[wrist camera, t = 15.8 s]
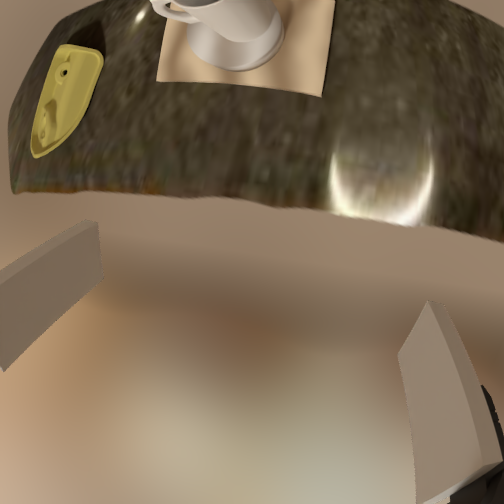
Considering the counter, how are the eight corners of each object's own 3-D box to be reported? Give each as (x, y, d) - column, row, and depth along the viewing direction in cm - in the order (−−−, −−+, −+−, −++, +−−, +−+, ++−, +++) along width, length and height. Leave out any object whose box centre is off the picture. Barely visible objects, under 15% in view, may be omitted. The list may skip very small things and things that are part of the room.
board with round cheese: (334, 4, 25) (336, -13, 20) (321, 96, 31) (321, 91, 26) (177, -1, 28) (159, -13, 23) (161, 81, 34) (140, 78, 29)
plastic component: (58, 45, 31) (69, 43, 27) (91, 52, 37) (108, 52, 33) (28, 145, 39) (35, 161, 35) (60, 146, 45) (72, 162, 41)
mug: (272, -6, 22) (247, -59, 11) (275, 42, 25) (250, 0, 14) (189, 7, 24) (134, -29, 13) (189, 52, 27) (129, 28, 16)
